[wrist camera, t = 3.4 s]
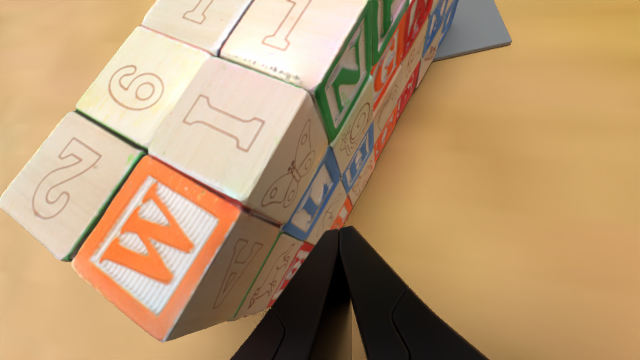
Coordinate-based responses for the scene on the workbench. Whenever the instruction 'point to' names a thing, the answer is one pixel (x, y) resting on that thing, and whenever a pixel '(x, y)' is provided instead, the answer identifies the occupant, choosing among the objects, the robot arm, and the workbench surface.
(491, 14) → the mat
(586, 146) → the workbench surface
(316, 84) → the stack of blocks
